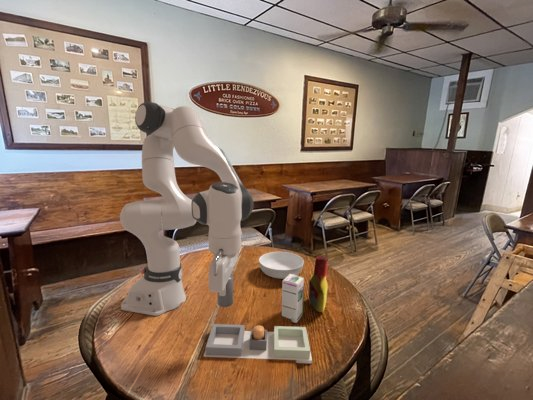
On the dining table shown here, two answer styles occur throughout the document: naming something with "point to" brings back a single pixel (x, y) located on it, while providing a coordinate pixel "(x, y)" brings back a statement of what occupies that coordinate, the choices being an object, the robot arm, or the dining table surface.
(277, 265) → the serving bowl
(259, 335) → the brown egg
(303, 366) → the dining table surface
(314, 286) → the bottle
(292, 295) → the syrup box
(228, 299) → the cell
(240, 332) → the grey compartment tray
